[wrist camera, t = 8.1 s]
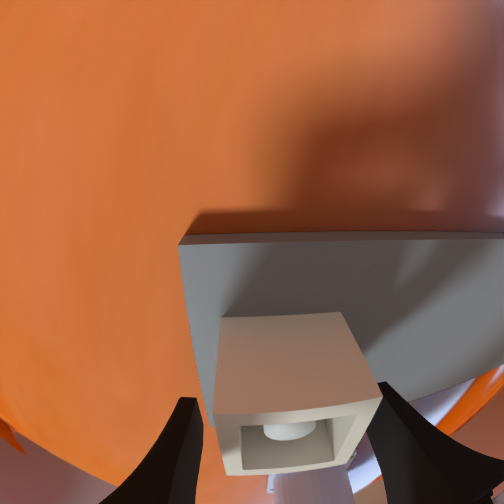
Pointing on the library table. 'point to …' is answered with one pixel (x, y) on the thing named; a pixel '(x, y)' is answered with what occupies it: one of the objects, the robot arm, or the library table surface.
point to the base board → (357, 300)
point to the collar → (290, 392)
